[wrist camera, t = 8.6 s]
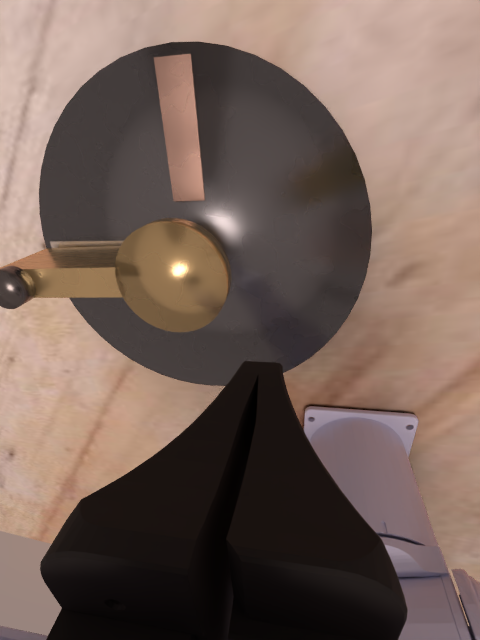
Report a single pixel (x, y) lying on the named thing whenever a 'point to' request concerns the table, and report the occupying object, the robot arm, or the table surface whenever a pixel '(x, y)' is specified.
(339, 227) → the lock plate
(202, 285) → the tan bar with ball
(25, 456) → the table surface
